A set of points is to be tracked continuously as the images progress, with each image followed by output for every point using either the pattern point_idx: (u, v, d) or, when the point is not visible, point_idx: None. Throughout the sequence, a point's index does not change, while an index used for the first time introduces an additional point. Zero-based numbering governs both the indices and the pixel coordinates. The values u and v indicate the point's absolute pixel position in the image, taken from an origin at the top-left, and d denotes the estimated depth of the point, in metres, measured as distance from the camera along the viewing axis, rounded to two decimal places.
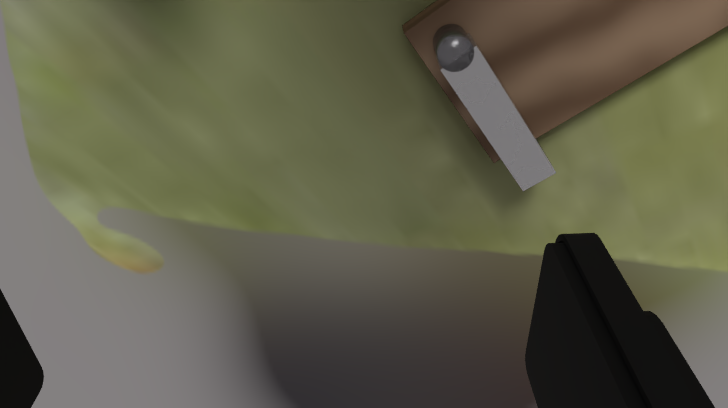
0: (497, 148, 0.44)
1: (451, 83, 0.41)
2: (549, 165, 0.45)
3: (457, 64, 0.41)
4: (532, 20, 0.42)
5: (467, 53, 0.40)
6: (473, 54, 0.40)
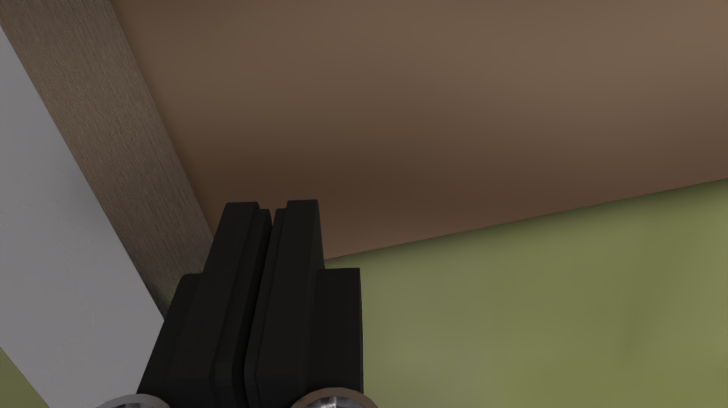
0: None
1: None
2: None
3: None
4: None
5: None
6: None
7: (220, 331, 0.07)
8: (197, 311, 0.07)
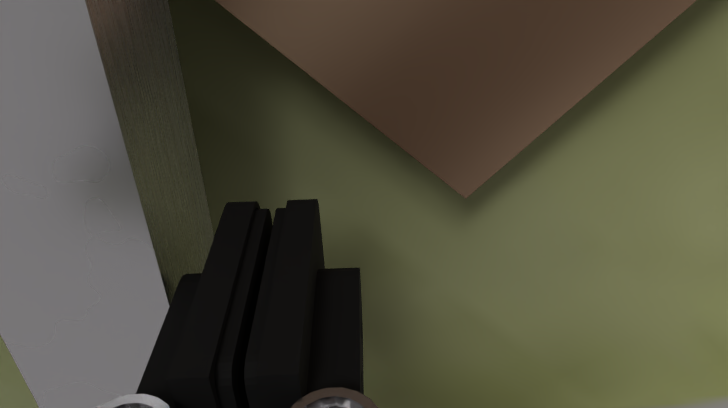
0: None
1: None
2: None
3: None
4: None
5: None
6: None
7: (220, 332, 0.07)
8: (197, 311, 0.07)
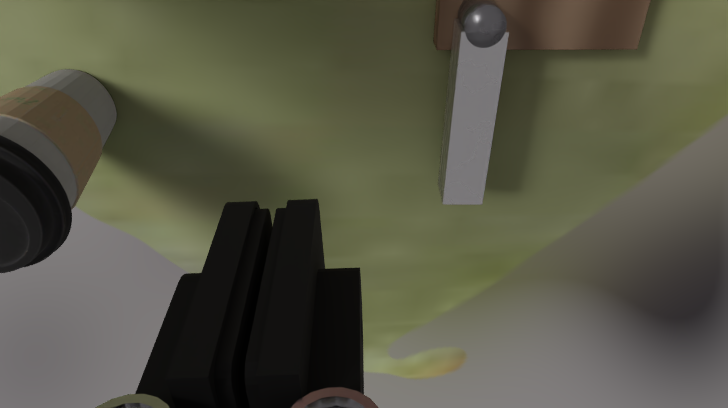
0: (451, 148, 0.40)
1: (460, 53, 0.36)
2: (482, 193, 0.42)
3: (479, 38, 0.36)
4: None
5: (496, 34, 0.35)
6: (500, 39, 0.36)
7: (220, 331, 0.07)
8: (197, 311, 0.07)
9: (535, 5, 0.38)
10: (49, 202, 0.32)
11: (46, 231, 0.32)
